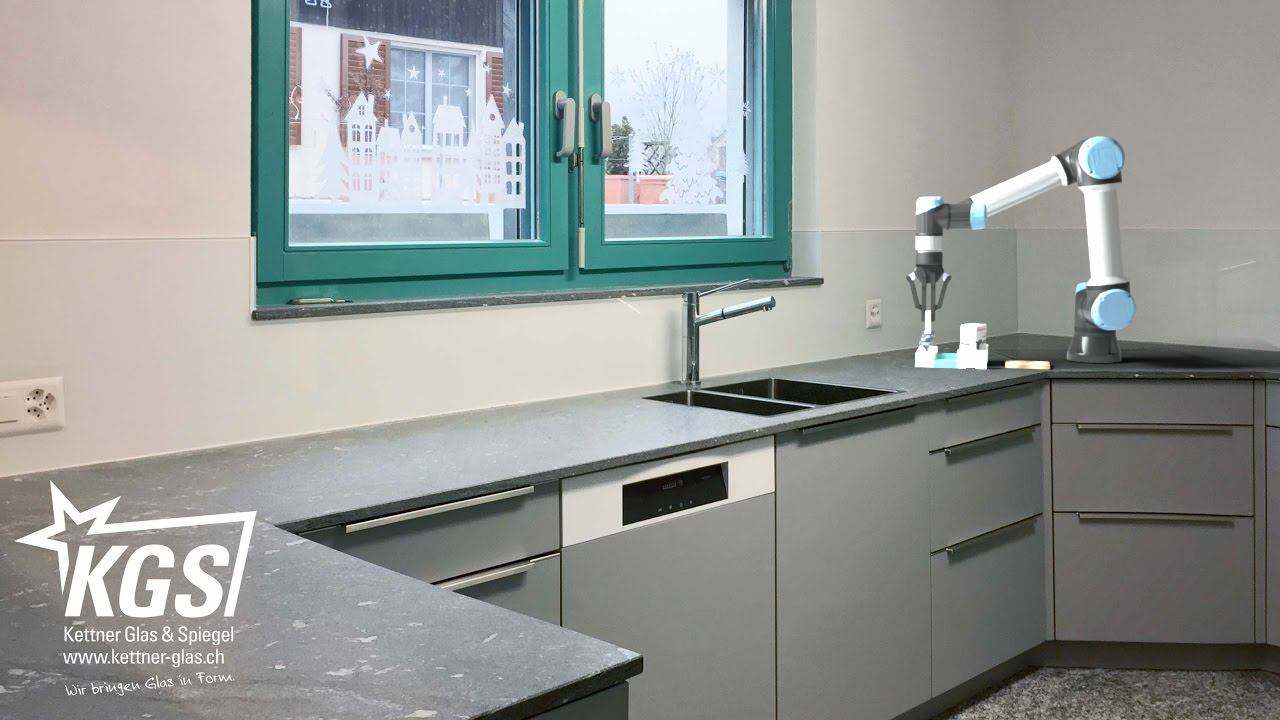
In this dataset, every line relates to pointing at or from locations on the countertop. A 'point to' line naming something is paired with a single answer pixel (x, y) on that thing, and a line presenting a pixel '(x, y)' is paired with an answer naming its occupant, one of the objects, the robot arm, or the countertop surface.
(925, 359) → the housing
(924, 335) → the plunger
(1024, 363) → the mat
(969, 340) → the ink box
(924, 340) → the plunger
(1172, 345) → the countertop surface
